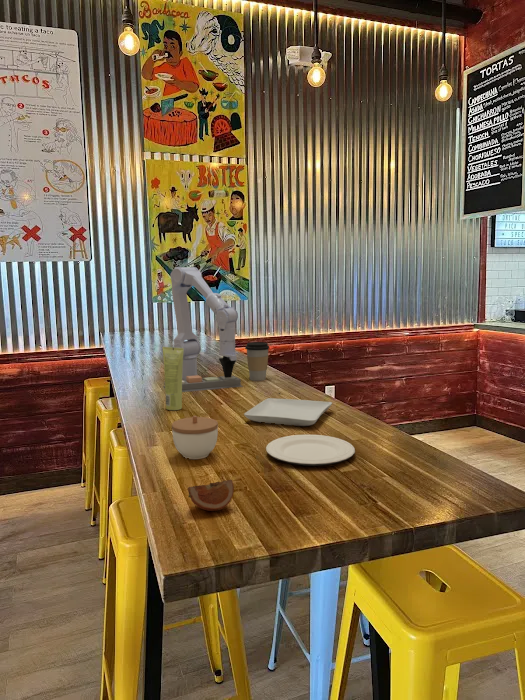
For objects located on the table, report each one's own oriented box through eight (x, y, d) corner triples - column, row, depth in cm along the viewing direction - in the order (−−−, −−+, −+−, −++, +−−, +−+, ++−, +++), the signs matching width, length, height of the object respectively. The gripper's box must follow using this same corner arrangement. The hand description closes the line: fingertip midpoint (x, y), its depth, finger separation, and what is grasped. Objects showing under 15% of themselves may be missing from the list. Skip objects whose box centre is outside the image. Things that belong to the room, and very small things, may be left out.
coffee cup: (270, 379, 214) (270, 341, 212) (268, 384, 205) (268, 345, 203) (247, 379, 215) (246, 341, 213) (243, 384, 206) (243, 345, 204)
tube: (182, 406, 173) (180, 345, 170) (185, 409, 169) (183, 347, 166) (164, 407, 171) (162, 346, 168) (167, 411, 167) (165, 348, 164)
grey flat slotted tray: (162, 388, 198) (162, 380, 198) (232, 382, 208) (232, 374, 208) (169, 395, 187) (169, 386, 187) (243, 389, 197) (243, 380, 197)
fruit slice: (192, 519, 95) (191, 492, 94) (184, 504, 101) (183, 479, 100) (238, 512, 98) (237, 485, 97) (227, 497, 104) (226, 472, 103)
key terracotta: (186, 381, 197) (186, 376, 197) (198, 380, 199) (198, 375, 199) (189, 384, 193) (189, 378, 193) (202, 382, 195) (202, 377, 195)
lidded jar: (177, 447, 133) (176, 410, 132) (220, 447, 133) (220, 410, 131) (168, 462, 122) (167, 422, 121) (215, 463, 122) (215, 422, 121)
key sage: (203, 383, 200) (203, 377, 200) (215, 382, 202) (215, 376, 201) (207, 385, 196) (206, 380, 195) (219, 384, 197) (219, 379, 197)
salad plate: (242, 424, 153) (242, 413, 153) (267, 407, 173) (267, 396, 172) (315, 432, 146) (315, 419, 146) (333, 412, 166) (333, 401, 165)
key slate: (220, 381, 202) (220, 376, 202) (231, 380, 204) (231, 375, 204) (223, 384, 198) (223, 378, 198) (235, 382, 200) (235, 377, 200)
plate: (332, 478, 114) (332, 469, 113) (248, 460, 124) (248, 452, 124) (368, 450, 131) (368, 442, 131) (292, 436, 142) (292, 429, 142)
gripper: (244, 342, 194) (244, 379, 196) (231, 337, 207) (231, 372, 209) (225, 343, 191) (226, 381, 193) (213, 338, 204) (214, 374, 206)
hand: (227, 377), depth 201 cm, fingers closed, pressing on key slate
